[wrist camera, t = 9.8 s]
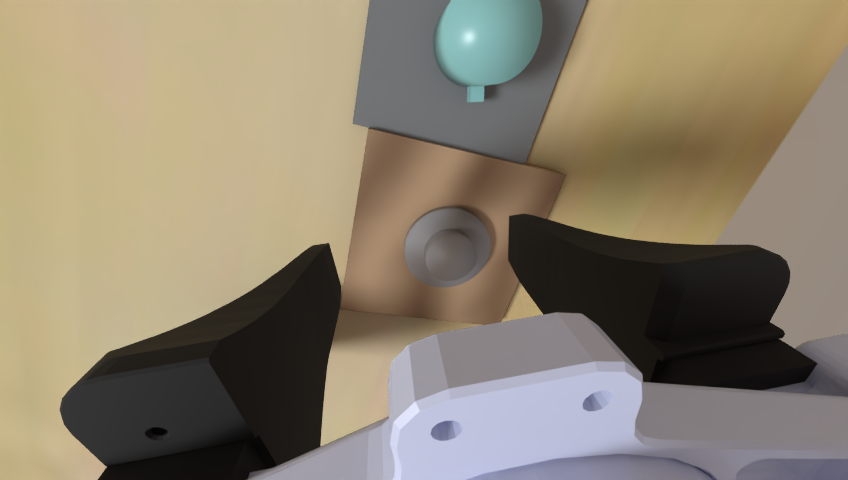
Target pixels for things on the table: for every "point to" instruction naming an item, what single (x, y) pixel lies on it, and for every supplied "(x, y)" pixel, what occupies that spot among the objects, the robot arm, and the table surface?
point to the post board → (438, 229)
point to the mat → (445, 101)
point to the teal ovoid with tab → (486, 41)
